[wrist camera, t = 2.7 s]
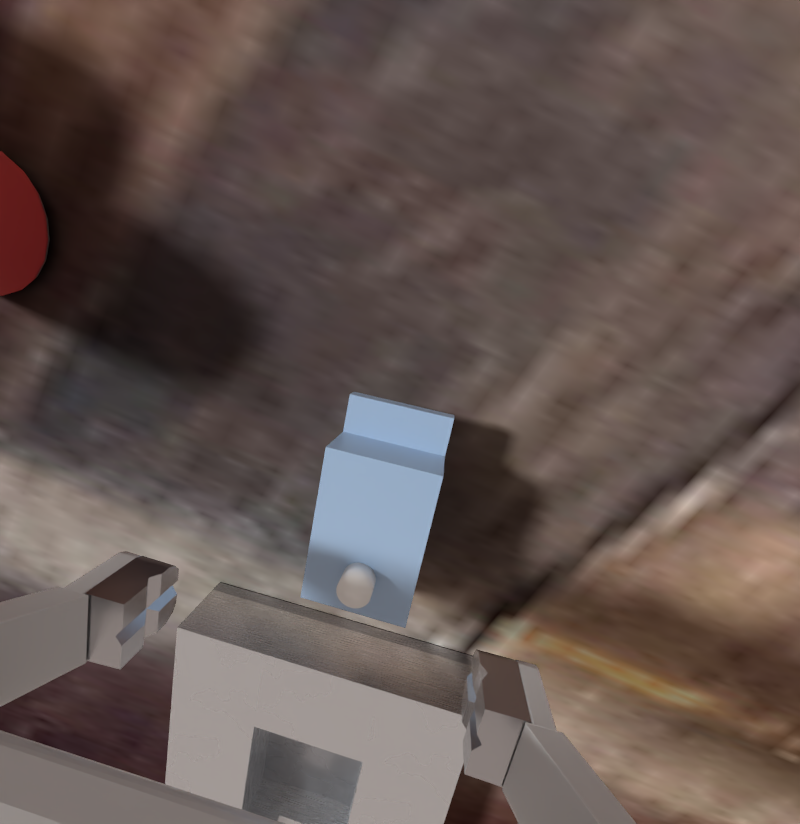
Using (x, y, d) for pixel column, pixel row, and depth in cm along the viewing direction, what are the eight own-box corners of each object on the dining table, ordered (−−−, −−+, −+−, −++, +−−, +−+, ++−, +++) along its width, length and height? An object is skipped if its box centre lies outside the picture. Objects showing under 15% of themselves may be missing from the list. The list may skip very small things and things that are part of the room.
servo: (454, 403, 16) (454, 439, 11) (411, 575, 18) (393, 680, 13) (368, 383, 17) (324, 408, 11) (335, 554, 19) (285, 647, 13)
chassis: (473, 656, 19) (477, 720, 16) (408, 866, 22) (401, 951, 19) (219, 582, 20) (177, 627, 17) (197, 792, 24) (159, 860, 21)
